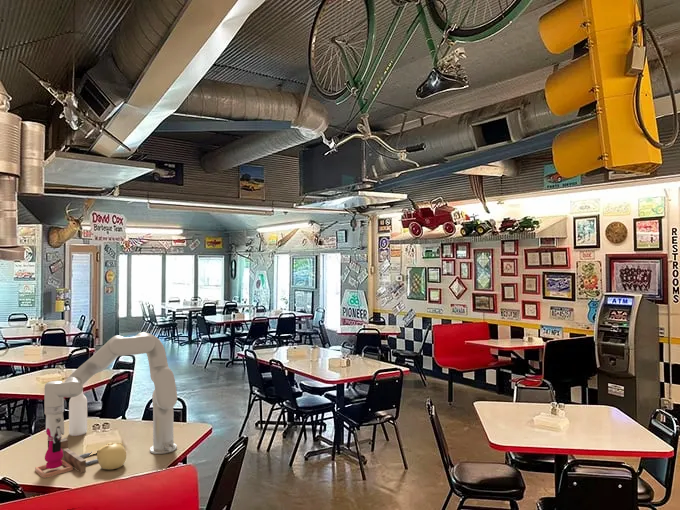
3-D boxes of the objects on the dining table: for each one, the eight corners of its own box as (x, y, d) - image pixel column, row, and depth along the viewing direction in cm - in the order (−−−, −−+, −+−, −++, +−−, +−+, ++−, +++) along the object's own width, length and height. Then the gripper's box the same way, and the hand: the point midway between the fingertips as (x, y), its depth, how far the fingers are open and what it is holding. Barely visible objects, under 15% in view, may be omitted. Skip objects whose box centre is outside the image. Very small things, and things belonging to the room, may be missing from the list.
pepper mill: (42, 470, 219) (42, 424, 219) (47, 464, 226) (47, 419, 226) (60, 468, 221) (60, 423, 221) (65, 462, 228) (65, 418, 228)
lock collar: (72, 469, 224) (72, 466, 224) (44, 478, 215) (44, 474, 215) (63, 462, 232) (63, 459, 232) (35, 470, 223) (35, 467, 223)
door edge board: (88, 470, 223) (88, 452, 223) (78, 473, 220) (78, 455, 220) (64, 454, 242) (64, 438, 242) (55, 457, 239) (55, 440, 239)
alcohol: (69, 432, 274) (69, 377, 274) (87, 429, 277) (87, 375, 278) (68, 437, 266) (68, 380, 266) (86, 434, 269) (86, 379, 270)
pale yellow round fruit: (118, 459, 235) (118, 436, 235) (131, 466, 227) (130, 442, 227) (93, 467, 226) (93, 443, 226) (106, 474, 219) (106, 450, 219)
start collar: (108, 459, 236) (108, 456, 236) (83, 466, 227) (83, 463, 227) (98, 452, 243) (98, 449, 243) (73, 460, 235) (73, 456, 235)
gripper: (70, 411, 221) (70, 452, 221) (56, 403, 232) (56, 443, 232) (51, 415, 215) (51, 457, 215) (38, 407, 227) (38, 447, 226)
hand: (54, 449), depth 224 cm, fingers closed on pepper mill, 5 cm apart
